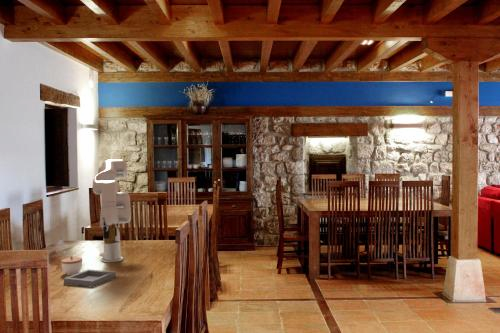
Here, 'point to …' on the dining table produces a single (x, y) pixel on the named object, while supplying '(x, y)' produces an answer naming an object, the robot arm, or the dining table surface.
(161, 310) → the dining table surface
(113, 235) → the condiment
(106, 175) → the robot arm
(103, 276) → the tray
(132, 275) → the dining table surface
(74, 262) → the lidded jar
